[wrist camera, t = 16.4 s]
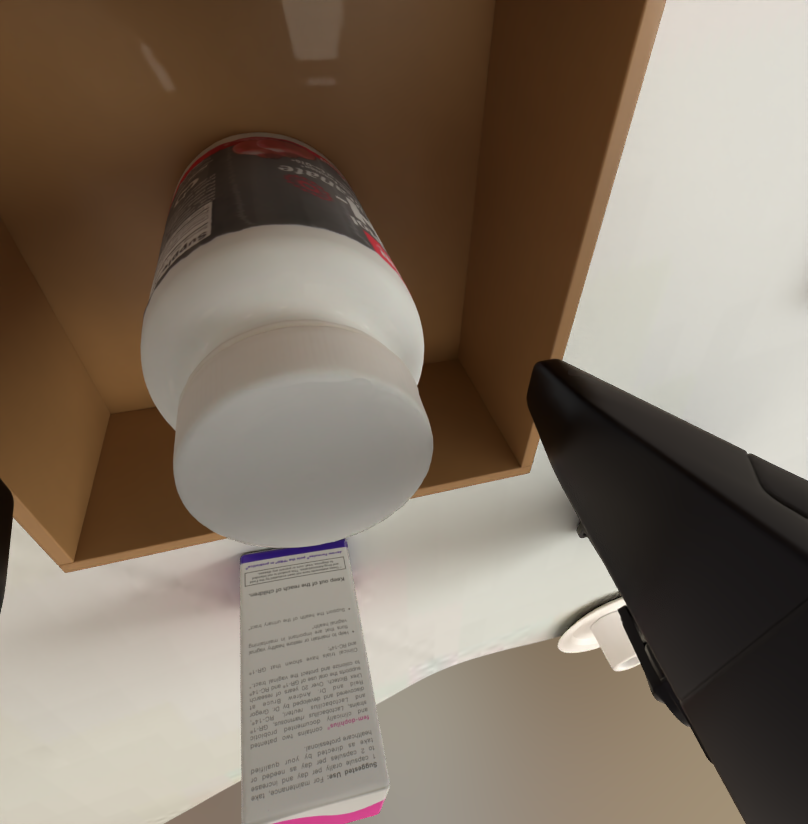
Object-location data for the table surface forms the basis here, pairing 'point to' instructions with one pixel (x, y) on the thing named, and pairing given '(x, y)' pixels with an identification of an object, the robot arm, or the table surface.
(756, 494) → the robot arm
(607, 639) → the candle holder
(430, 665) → the table surface
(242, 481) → the pill bottle
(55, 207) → the carton
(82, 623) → the table surface
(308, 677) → the supplement box
